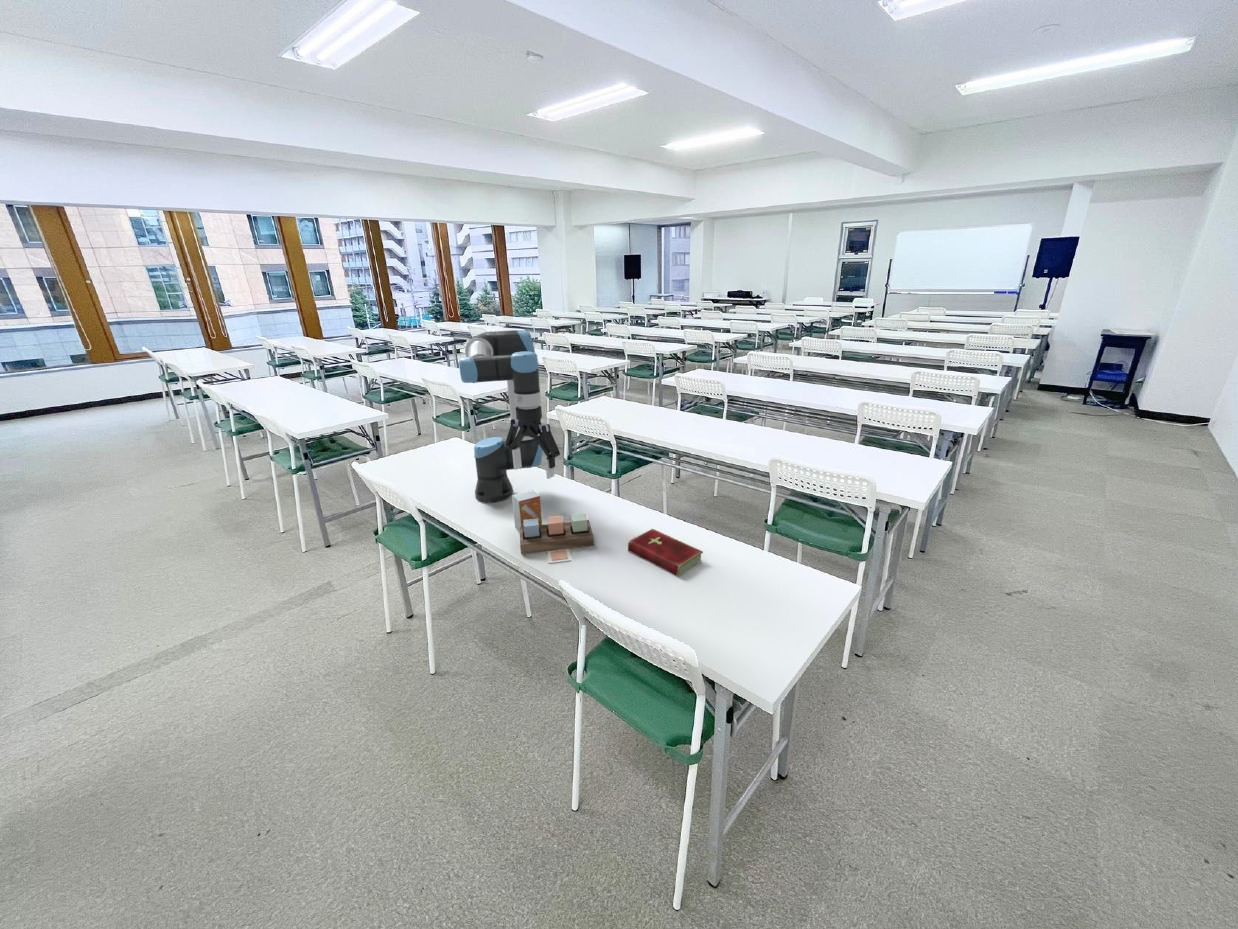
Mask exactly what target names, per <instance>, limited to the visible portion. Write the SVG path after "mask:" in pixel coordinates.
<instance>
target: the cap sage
mask: <svg viewBox="0 0 1238 929" xmlns="http://www.w3.org/2000/svg"><path fill="white" fill-rule="evenodd" d="M570 518H571V520H570V522H572V529H573V532H582V531H588V529H587V520H588V519H587V514H586V513H579V514H578V513H577V514H571V515H570Z"/></svg>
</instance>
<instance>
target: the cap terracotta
mask: <svg viewBox="0 0 1238 929" xmlns="http://www.w3.org/2000/svg"><path fill="white" fill-rule="evenodd" d="M563 523H564V520H563V516H562V515H557V516H548V517H547V524H548V529H549V535H551V534H553V535H554V534H561V533H564V529H563Z"/></svg>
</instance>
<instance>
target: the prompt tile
mask: <svg viewBox="0 0 1238 929" xmlns="http://www.w3.org/2000/svg"><path fill="white" fill-rule="evenodd" d="M546 552H547V559H548V564H557V563H566V562H572V557H571V553H570V549H562V550H554V551H546Z"/></svg>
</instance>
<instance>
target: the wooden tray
mask: <svg viewBox="0 0 1238 929" xmlns="http://www.w3.org/2000/svg"><path fill="white" fill-rule="evenodd" d="M563 529H564V533H561V534H554V535H553V534H551V535H549V529H548V523H544V524H542V525H539V536H535V537H525V535H524V527H520V532H519V546H520V555H526V554H533V553H545V552H547V551H554V550H562V549H569V550H570V549H578V548H586V547H594V546H595V536H594V533H593V530H592V526H591V523H590V519H587V529H588V531H582V532H573V529H572V521H566V522H564V521H563Z"/></svg>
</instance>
